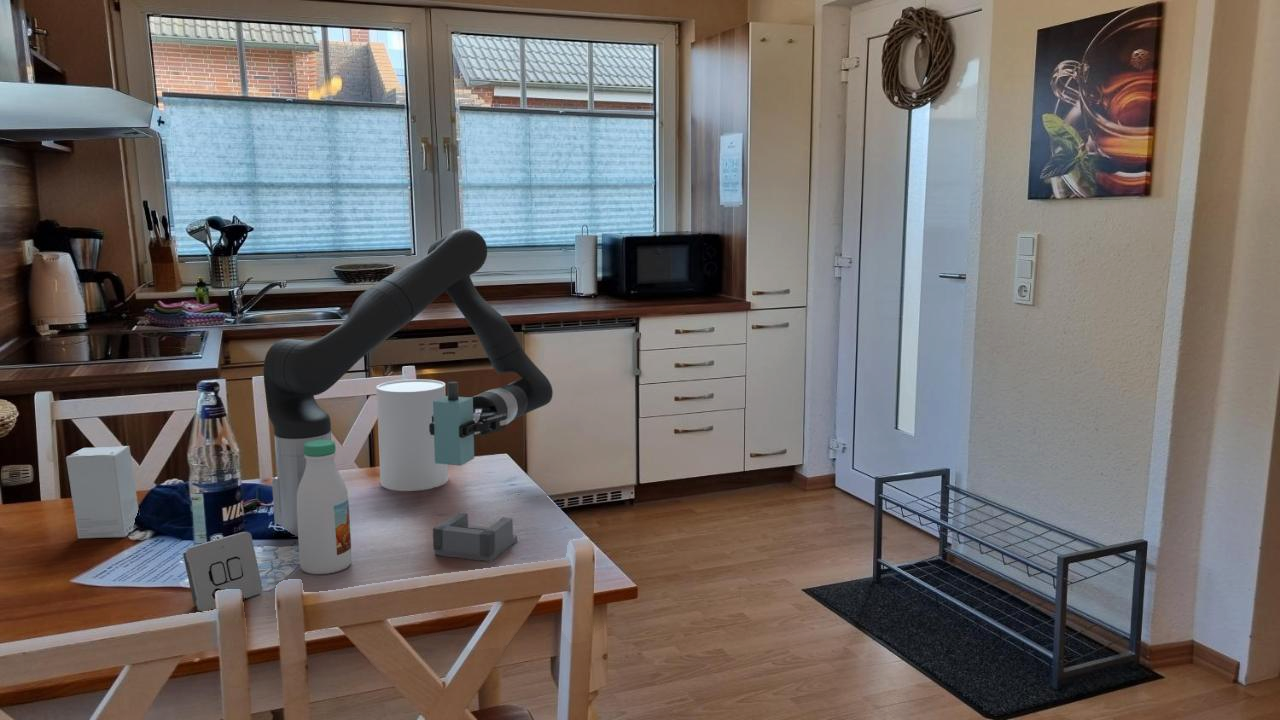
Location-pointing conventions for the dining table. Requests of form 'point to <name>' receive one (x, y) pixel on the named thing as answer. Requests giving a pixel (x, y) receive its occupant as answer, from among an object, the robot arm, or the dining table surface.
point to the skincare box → (102, 491)
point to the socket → (472, 538)
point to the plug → (452, 428)
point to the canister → (408, 435)
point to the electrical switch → (222, 568)
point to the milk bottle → (323, 512)
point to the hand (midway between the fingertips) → (446, 430)
